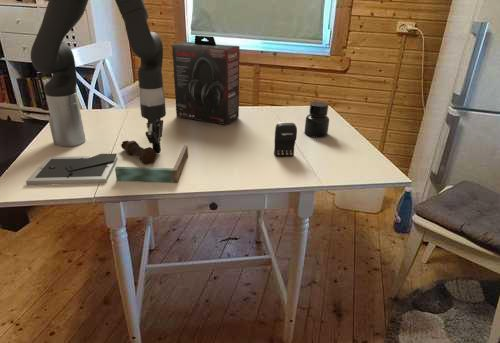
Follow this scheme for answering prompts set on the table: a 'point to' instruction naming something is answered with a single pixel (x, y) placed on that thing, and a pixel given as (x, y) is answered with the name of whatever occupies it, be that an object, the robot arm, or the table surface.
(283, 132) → the battery charger
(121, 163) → the table surface
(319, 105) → the ink bottle
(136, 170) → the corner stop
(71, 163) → the picture frame
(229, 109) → the headset box
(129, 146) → the bolt
